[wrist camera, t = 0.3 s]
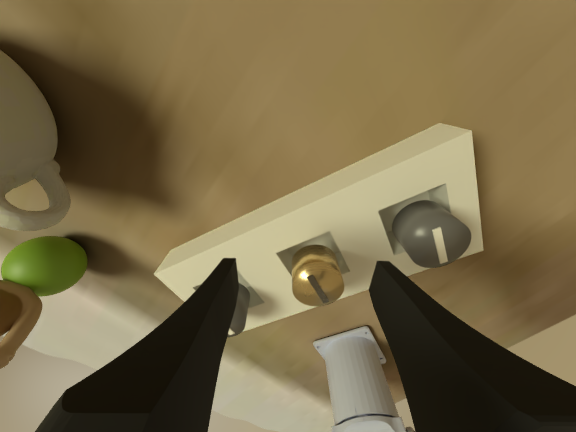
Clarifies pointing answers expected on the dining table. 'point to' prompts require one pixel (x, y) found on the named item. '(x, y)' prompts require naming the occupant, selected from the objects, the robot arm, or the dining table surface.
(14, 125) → the teacup
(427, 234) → the knob near
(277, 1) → the dining table surface
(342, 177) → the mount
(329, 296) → the knob brass
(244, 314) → the knob far
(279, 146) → the dining table surface
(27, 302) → the snail figurine
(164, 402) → the robot arm
